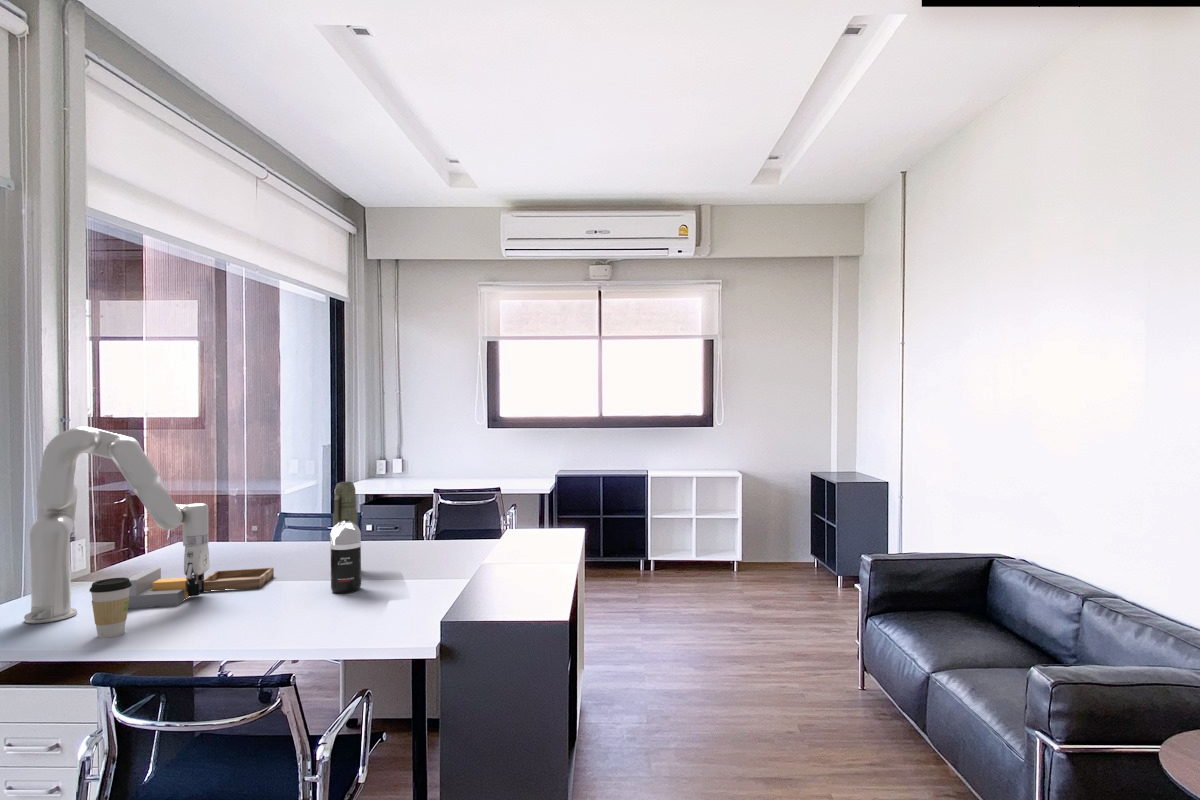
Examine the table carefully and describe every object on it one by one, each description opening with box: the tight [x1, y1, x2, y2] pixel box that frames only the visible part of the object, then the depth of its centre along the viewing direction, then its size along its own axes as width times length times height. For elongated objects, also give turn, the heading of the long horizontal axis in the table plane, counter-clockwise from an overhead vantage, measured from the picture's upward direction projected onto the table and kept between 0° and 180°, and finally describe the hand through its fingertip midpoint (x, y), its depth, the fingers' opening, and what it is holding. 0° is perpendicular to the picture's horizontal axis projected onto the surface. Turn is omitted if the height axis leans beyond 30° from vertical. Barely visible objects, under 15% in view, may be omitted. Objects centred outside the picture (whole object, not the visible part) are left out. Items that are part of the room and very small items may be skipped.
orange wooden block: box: [152, 576, 202, 599], centre depth 229 cm, size 6×14×6 cm, turn 101°
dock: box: [128, 567, 185, 609], centre depth 228 cm, size 18×16×9 cm
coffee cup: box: [89, 577, 132, 639], centre depth 192 cm, size 10×10×15 cm
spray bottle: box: [329, 519, 362, 594], centre depth 236 cm, size 10×10×25 cm
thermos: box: [332, 481, 358, 528], centre depth 264 cm, size 9×12×35 cm
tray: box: [202, 567, 275, 591], centre depth 247 cm, size 18×20×4 cm
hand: (196, 593), depth 230 cm, fingers closed on orange wooden block, 3 cm apart
